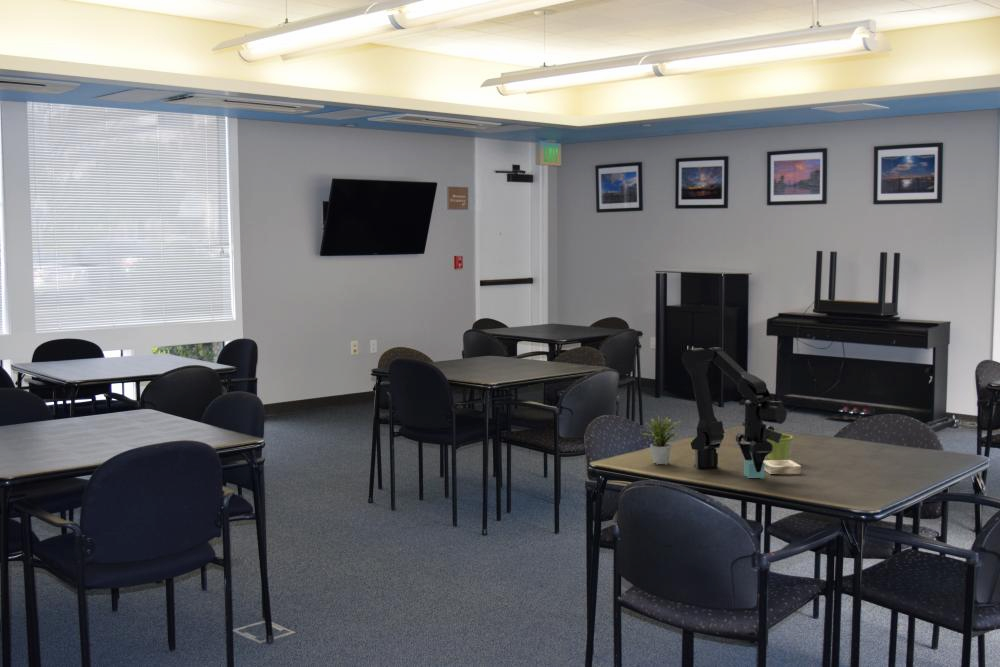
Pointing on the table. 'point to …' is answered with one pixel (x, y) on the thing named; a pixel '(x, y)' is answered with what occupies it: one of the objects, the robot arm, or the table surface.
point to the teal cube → (752, 470)
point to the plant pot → (780, 448)
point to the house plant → (661, 440)
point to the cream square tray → (781, 467)
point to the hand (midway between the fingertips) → (753, 469)
